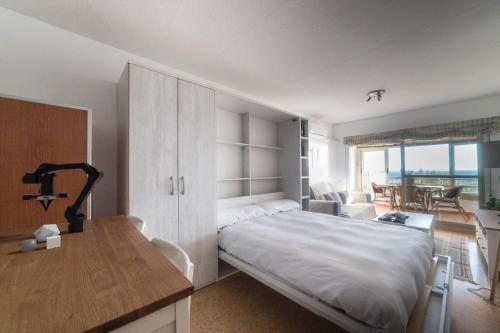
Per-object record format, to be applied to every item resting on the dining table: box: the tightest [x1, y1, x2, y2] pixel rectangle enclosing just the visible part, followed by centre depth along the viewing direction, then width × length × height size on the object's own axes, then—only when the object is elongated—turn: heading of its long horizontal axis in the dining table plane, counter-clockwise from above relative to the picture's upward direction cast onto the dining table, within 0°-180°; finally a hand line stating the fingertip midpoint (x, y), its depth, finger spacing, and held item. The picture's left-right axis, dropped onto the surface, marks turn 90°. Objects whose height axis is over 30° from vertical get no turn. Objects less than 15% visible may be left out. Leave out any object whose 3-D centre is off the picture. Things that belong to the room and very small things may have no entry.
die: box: [33, 223, 61, 243], centre depth 105 cm, size 8×9×10 cm
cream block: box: [46, 234, 62, 250], centre depth 96 cm, size 4×4×4 cm
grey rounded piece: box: [21, 238, 38, 253], centre depth 91 cm, size 4×4×4 cm
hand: (46, 210), depth 117 cm, fingers closed
